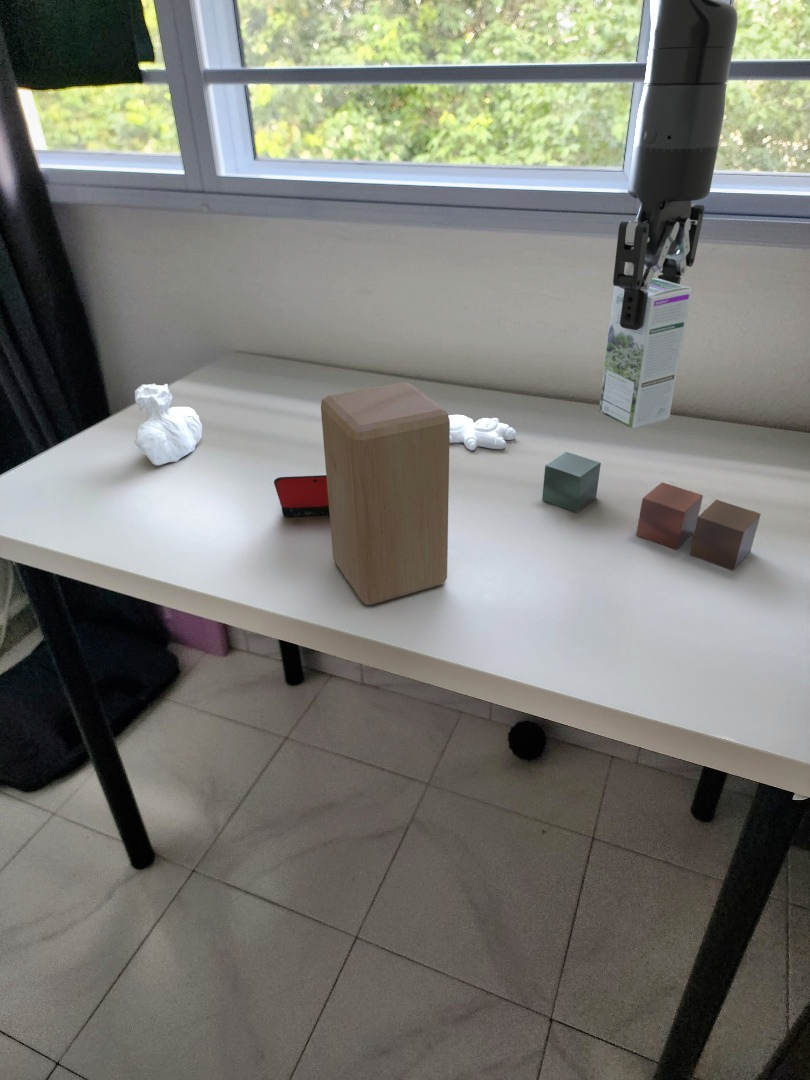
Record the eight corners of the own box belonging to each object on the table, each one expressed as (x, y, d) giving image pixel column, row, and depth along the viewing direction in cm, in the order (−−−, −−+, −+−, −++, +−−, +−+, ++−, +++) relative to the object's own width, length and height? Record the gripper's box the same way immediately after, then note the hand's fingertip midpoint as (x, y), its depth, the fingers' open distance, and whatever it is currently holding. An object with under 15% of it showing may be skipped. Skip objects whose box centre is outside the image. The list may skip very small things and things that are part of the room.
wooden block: (330, 561, 84) (316, 393, 74) (410, 540, 88) (408, 377, 77) (364, 611, 77) (353, 431, 66) (450, 585, 80) (454, 411, 69)
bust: (198, 450, 115) (151, 388, 112) (225, 428, 110) (177, 363, 108) (144, 484, 106) (92, 417, 103) (171, 462, 101) (117, 392, 99)
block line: (750, 551, 85) (761, 513, 82) (733, 570, 82) (743, 532, 79) (562, 485, 98) (566, 451, 96) (541, 500, 95) (544, 465, 93)
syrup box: (671, 419, 83) (696, 285, 75) (630, 430, 81) (652, 293, 73) (635, 403, 87) (655, 274, 80) (595, 412, 85) (612, 281, 77)
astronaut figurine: (495, 457, 106) (496, 437, 104) (423, 439, 111) (423, 420, 110) (522, 435, 112) (523, 416, 110) (452, 418, 117) (452, 400, 116)
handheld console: (382, 486, 99) (380, 434, 95) (383, 529, 90) (381, 474, 86) (288, 489, 99) (282, 437, 95) (279, 532, 90) (272, 477, 86)
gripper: (681, 149, 63) (650, 344, 72) (745, 136, 72) (710, 310, 81) (601, 145, 67) (580, 329, 76) (671, 133, 76) (645, 299, 85)
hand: (647, 319), depth 78 cm, fingers closed on syrup box, 7 cm apart
